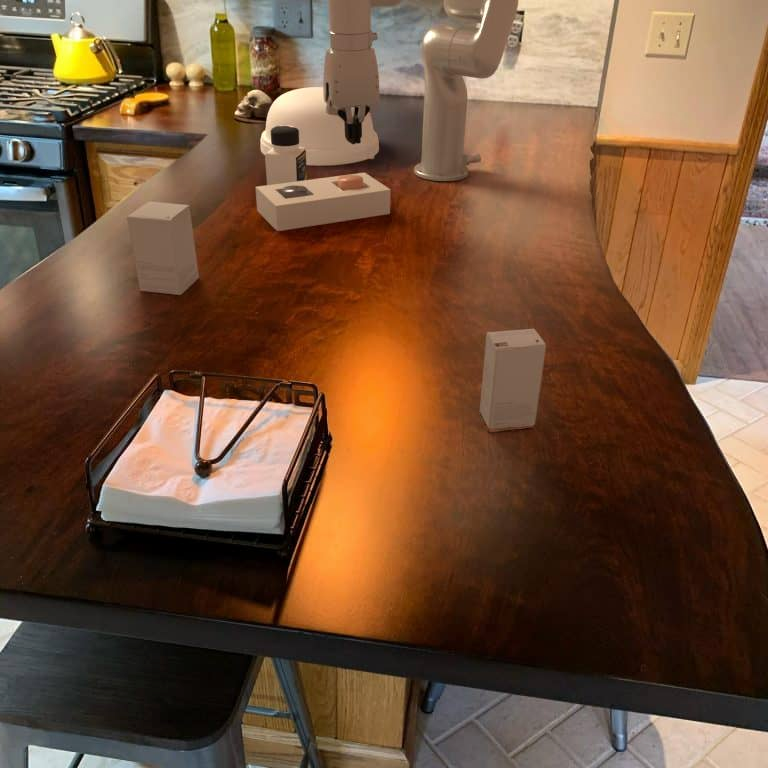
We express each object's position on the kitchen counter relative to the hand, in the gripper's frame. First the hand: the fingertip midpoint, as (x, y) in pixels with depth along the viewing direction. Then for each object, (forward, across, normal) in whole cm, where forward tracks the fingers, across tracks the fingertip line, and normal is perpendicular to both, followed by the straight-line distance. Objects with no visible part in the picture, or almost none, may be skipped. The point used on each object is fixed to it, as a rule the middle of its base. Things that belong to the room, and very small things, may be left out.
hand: (353, 142), depth 151 cm
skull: (+15, -4, -78) cm, 79 cm away
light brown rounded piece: (+11, +1, +1) cm, 11 cm away
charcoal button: (+11, +13, +1) cm, 17 cm away
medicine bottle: (+14, +7, -20) cm, 26 cm away
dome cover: (+15, -10, -43) cm, 47 cm away
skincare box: (+12, +15, +78) cm, 80 cm away
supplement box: (+12, +43, +22) cm, 50 cm away
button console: (+13, +7, +1) cm, 15 cm away
